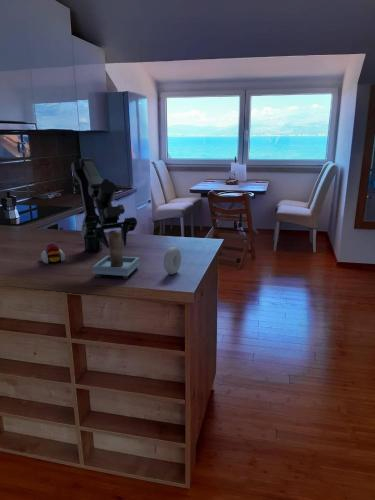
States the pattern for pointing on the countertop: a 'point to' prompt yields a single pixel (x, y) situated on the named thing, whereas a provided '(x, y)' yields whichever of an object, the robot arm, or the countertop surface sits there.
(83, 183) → the robot arm
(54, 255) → the red yellow rounded shape
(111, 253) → the walnut spindle
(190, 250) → the countertop surface
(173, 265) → the donut
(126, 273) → the tray
